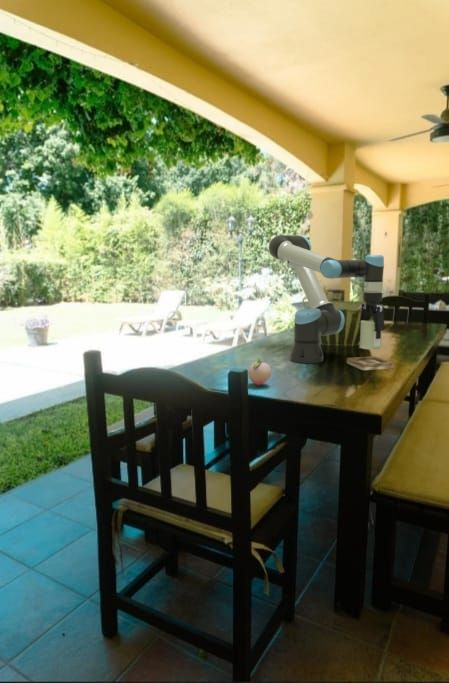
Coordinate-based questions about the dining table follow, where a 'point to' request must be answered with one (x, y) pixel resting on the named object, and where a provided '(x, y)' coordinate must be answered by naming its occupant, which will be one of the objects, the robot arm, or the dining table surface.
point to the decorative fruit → (259, 372)
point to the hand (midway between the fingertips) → (370, 344)
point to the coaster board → (369, 363)
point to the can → (368, 335)
